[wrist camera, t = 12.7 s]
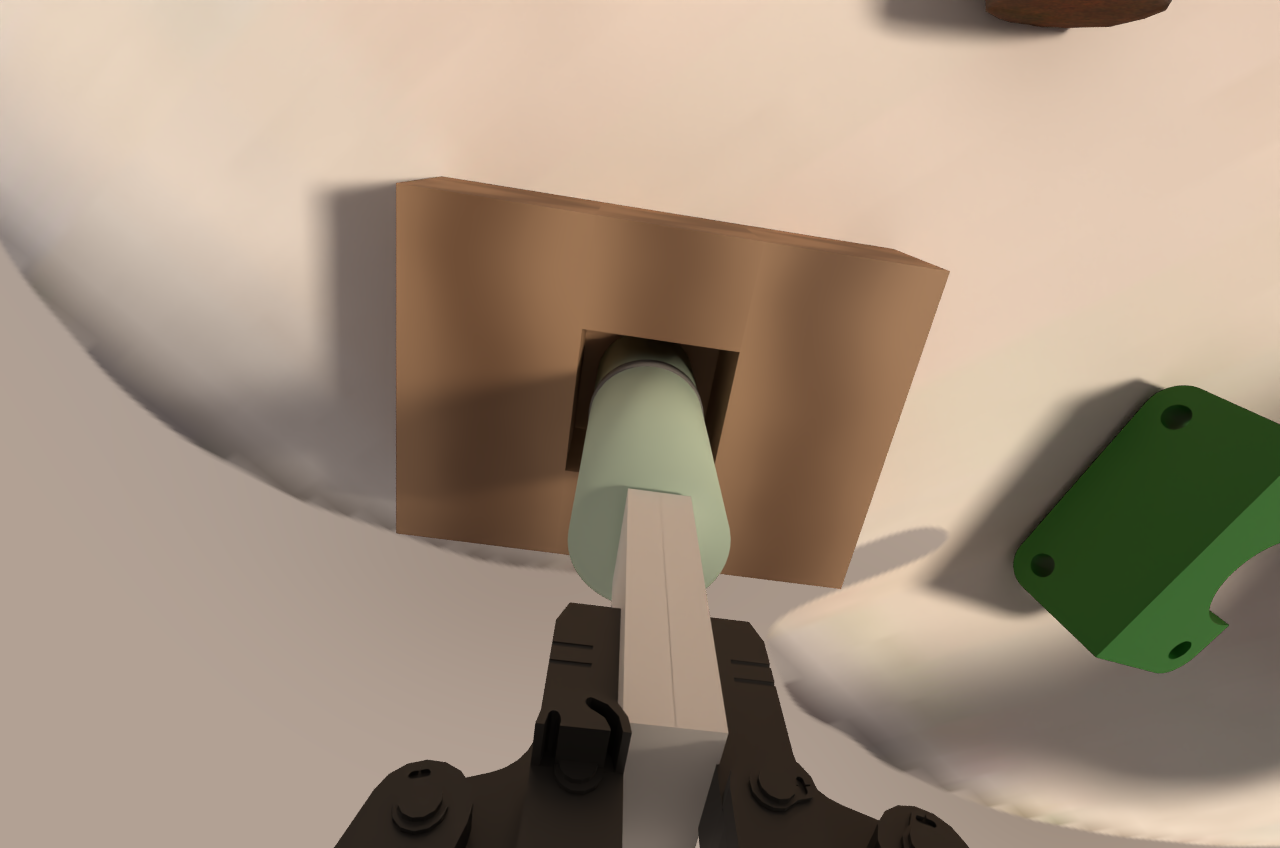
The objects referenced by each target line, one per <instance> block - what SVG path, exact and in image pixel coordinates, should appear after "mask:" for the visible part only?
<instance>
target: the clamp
mask: <svg viewBox="0 0 1280 848" xmlns="http://www.w3.org/2000/svg"><path fill="white" fill-rule="evenodd" d="M1279 543H1280V424H1278V423H1275V422H1273V421H1271V420H1269V419H1267V418H1264V417H1262V416H1260V415H1258V414H1256V413H1253V412H1251V411H1249V410H1247V409H1245V408H1242V407H1240V406H1238V405H1236V404H1233V403H1231V402H1229V401H1227V400H1225V399H1222V398H1220V397H1218V396H1216V395H1214V394H1211V393H1209V392H1207V391H1205V390H1203V389H1200V388H1197V387H1194V386H1186V385H1182V386H1174V387H1170V388H1167V389H1164V390H1162V391H1160V392H1158V393H1156V394H1155V395H1153V396H1152V397H1151V398H1150V399H1149V400H1148V401H1147V402H1146V403H1145V404H1144V405H1143V406H1142V407H1141V409H1140V410H1139V411H1138V412H1137V413H1136V414H1135V415H1134V417H1133V418H1132V419H1131V420H1130V421H1129V422H1128V423H1127V425H1126V426H1125V427H1124V428H1123V429H1122V430H1121V431H1120V433H1119V434H1118V435H1117V436H1116V437H1115V438H1114V439H1113V441H1112V442H1111V443H1110V444H1109V445H1108V446H1107V447H1106V449H1105V450H1104V451H1103V452H1102V453H1101V454H1100V455H1099V457H1098V458H1097V459H1096V460H1095V461H1094V462H1093V463H1092V465H1091V466H1090V467H1089V468H1088V469H1087V470H1086V471H1085V473H1084V474H1083V475H1082V476H1081V477H1080V478H1079V479H1078V481H1077V482H1076V483H1075V484H1074V485H1073V486H1072V488H1071V489H1070V490H1069V491H1068V492H1067V493H1066V494H1065V496H1064V497H1063V498H1062V499H1061V500H1060V501H1059V502H1058V504H1057V505H1056V506H1055V507H1054V508H1053V509H1052V510H1051V512H1050V513H1049V514H1048V515H1047V516H1046V517H1045V518H1044V520H1043V521H1042V522H1041V523H1040V524H1039V525H1038V526H1037V528H1036V529H1035V530H1034V531H1033V532H1032V533H1031V534H1030V536H1029V537H1028V538H1027V539H1026V540H1025V541H1024V542H1023V544H1022V545H1021V546H1020V547H1019V549H1018V550H1017V552H1016V554H1015V557H1014V562H1013V568H1014V573H1015V576H1016V579H1017V580H1018V582H1019V583H1020V585H1021V586H1022V587H1023V588H1024V589H1025V590H1026V591H1027V592H1028V593H1029V594H1030V595H1032V596H1033V597H1034V598H1035V599H1036V600H1037V601H1038V602H1039V603H1040V604H1041V605H1042V606H1043V607H1044V608H1045V609H1046V610H1047V611H1048V612H1049V613H1050V614H1051V615H1052V616H1053V617H1054V618H1055V619H1056V620H1058V621H1059V622H1060V623H1061V624H1062V625H1063V626H1064V627H1065V628H1066V629H1067V630H1068V631H1069V632H1070V633H1071V634H1072V635H1073V636H1074V637H1075V638H1076V639H1077V640H1078V641H1079V642H1080V643H1081V644H1083V645H1084V646H1085V647H1086V648H1087V649H1088V650H1089V651H1090V652H1091V653H1092V654H1093V655H1094V656H1095V657H1097V658H1101V659H1104V660H1108V661H1112V662H1116V663H1120V664H1124V665H1127V666H1131V667H1135V668H1139V669H1143V670H1147V671H1150V672H1154V673H1166V672H1170V671H1173V670H1175V669H1177V668H1179V667H1181V666H1183V665H1184V664H1186V663H1187V662H1189V661H1190V660H1191V659H1193V658H1194V657H1195V656H1196V655H1197V654H1198V653H1199V652H1201V651H1202V650H1203V649H1204V648H1205V647H1206V646H1207V645H1208V644H1209V643H1210V642H1211V641H1213V640H1214V639H1215V638H1216V637H1217V636H1218V635H1219V634H1220V633H1221V632H1222V631H1223V630H1225V629H1226V628H1227V627H1228V626H1229V625H1228V624H1227V623H1226V622H1224V621H1223V620H1222V619H1220V618H1219V617H1218V616H1216V615H1215V614H1214V613H1212V612H1211V611H1210V610H1209V608H1210V604H1211V602H1212V599H1213V597H1214V595H1215V594H1216V592H1217V591H1218V589H1219V588H1220V586H1221V585H1222V584H1223V583H1224V581H1225V580H1226V579H1227V578H1228V577H1229V576H1230V575H1231V574H1232V573H1233V572H1234V571H1235V570H1236V569H1237V568H1239V567H1240V566H1241V565H1242V564H1244V563H1245V562H1246V561H1248V560H1249V559H1250V558H1252V557H1253V556H1255V555H1256V554H1258V553H1260V552H1261V551H1263V550H1265V549H1267V548H1269V547H1271V546H1274V545H1276V544H1279Z"/></svg>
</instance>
